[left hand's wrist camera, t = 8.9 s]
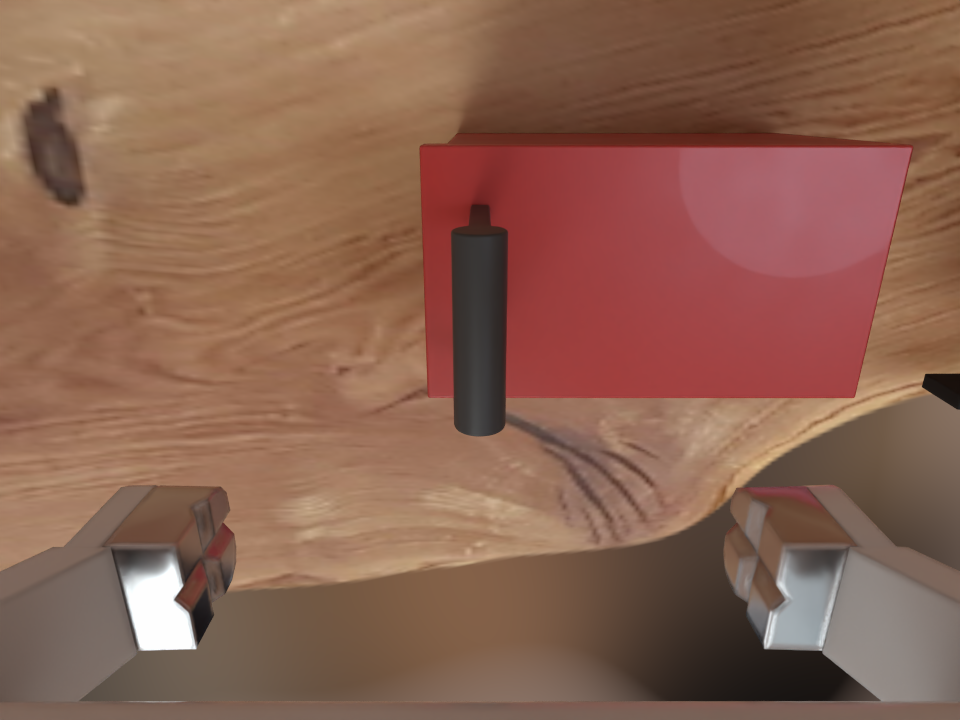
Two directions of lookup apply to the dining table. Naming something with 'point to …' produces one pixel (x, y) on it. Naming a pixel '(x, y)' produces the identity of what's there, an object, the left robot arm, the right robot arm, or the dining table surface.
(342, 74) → the dining table surface
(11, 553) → the dining table surface
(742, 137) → the chest
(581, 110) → the dining table surface
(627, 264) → the lid
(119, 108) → the dining table surface
